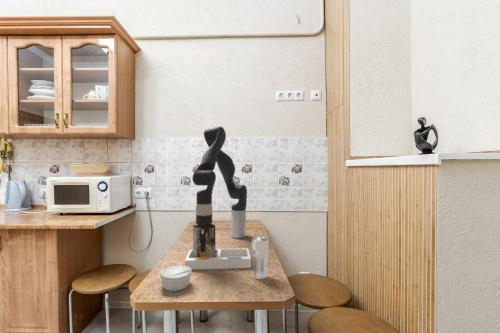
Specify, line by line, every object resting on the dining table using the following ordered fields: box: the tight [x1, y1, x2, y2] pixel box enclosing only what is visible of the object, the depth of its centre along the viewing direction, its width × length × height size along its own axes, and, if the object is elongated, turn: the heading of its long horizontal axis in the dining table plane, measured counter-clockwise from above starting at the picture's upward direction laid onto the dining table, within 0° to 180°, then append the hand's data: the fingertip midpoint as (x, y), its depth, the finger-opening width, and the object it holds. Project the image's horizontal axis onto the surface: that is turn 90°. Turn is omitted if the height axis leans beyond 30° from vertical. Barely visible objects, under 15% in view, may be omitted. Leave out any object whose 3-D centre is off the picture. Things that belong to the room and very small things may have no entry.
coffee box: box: [192, 222, 217, 258], centre depth 114 cm, size 9×6×16 cm
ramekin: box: [160, 265, 193, 292], centre depth 91 cm, size 11×11×5 cm
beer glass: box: [250, 236, 270, 281], centre depth 99 cm, size 7×7×15 cm
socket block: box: [184, 247, 252, 271], centre depth 114 cm, size 14×28×4 cm, turn 95°
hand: (203, 248), depth 114 cm, fingers closed on coffee box, 8 cm apart
